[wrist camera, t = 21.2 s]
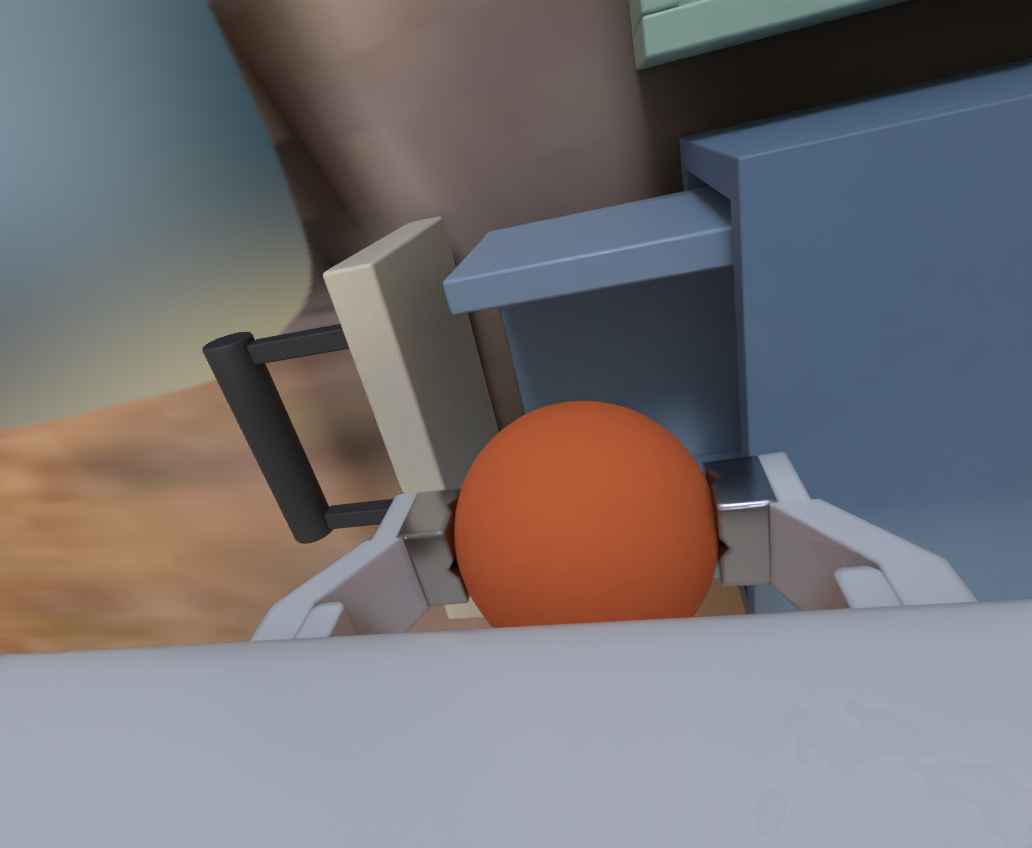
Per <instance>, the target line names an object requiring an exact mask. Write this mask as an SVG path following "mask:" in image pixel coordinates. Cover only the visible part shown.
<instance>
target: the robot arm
mask: <svg viewBox="0 0 1032 848" xmlns="http://www.w3.org/2000/svg"><path fill="white" fill-rule="evenodd" d="M702 472H703V474H704V476H705V478H706V480H707V483H708V485H709V487H710V490H711V498H712V503H713V509H714V515H715V521H716V529H717V533H718V536H719V548H718V558H717V567H718V570H719V574H720V578H721V581H722V585H723V586H745V585H771V587H773V588H774V589H775V590H776V591H777V592H778V593H780V594H781V595H782V596H783V597H784V598H785V599H787V600H788V601H789V602H790V603H791V604H792V605H794V606H795V607H796V608H797V609H798V610H799V611H793V612H775V613H757V614H739V615H720V616H702V617H684V618H666V619H647V620H629V621H611V622H592V623H574V624H556V625H537V626H519V627H500V628H482V629H464V630H445V631H427V632H408V631H409V630H410V629H411V628H412V627H413V626H414V625H415V623H416V622H417V621H418V620H419V619H420V618H421V617H422V616H423V615H424V614H425V613H426V612H427V610H428V609H429V606H440V605H450V604H461V603H468V601H469V597H470V595H469V592H468V590H467V588H466V585H465V583H464V580H463V578H462V575H461V573H460V569H459V565H458V561H457V556H456V550H455V539H454V527H455V512H456V508H457V504H458V499H459V495H460V491H461V488H459V489H447V490H436V491H425V492H413V493H405V494H399V495H397V496H395V498H394V500H393V502H392V504H391V505H390V507H389V509H388V511H387V513H386V515H385V516H384V518H383V520H382V522H381V524H380V526H379V528H378V529H377V531H376V533H375V535H374V537H373V539H372V540H368V541H364V542H363V543H361V544H360V545H358V546H357V547H356V548H354V549H353V550H351V551H350V552H348V553H347V554H345V555H344V556H343V557H341V558H340V559H338V560H337V561H335V562H334V563H332V564H331V565H330V566H328V567H327V568H325V569H324V570H322V571H321V572H319V573H318V574H317V575H315V576H314V577H312V578H311V579H309V580H308V581H306V582H305V583H304V584H302V585H301V586H299V587H298V588H296V589H295V590H294V591H292V592H291V593H289V594H288V595H286V596H285V597H283V598H282V599H281V600H279V601H278V602H276V603H275V604H273V605H272V607H271V608H270V610H269V611H268V613H267V614H266V616H265V617H264V619H263V620H262V622H261V623H260V625H259V626H258V628H257V629H256V631H255V632H254V634H253V635H252V637H251V638H250V640H249V641H243V642H225V643H206V644H188V645H170V646H151V647H133V648H115V649H97V650H78V651H60V652H42V653H17V654H0V848H1032V599H1016V600H997V601H979V602H978V600H977V599H976V598H975V596H974V595H973V594H972V593H971V591H970V590H969V589H968V587H967V586H966V585H965V583H964V582H963V581H962V580H961V578H960V577H959V576H958V574H957V573H956V572H955V570H954V569H953V568H952V567H951V565H950V564H949V563H948V561H947V560H946V559H945V558H943V557H941V556H939V555H936V554H934V553H932V552H930V551H928V550H926V549H924V548H922V547H920V546H918V545H916V544H913V543H911V542H909V541H907V540H905V539H903V538H901V537H899V536H897V535H895V534H893V533H890V532H888V531H886V530H884V529H882V528H880V527H878V526H876V525H874V524H872V523H870V522H868V521H865V520H863V519H861V518H859V517H857V516H855V515H853V514H851V513H849V512H847V511H845V510H842V509H840V508H838V507H836V506H834V505H832V504H830V503H828V502H826V501H824V500H822V499H811V498H810V496H809V494H808V492H807V490H806V489H805V487H804V485H803V483H802V481H801V480H800V478H799V476H798V474H797V472H796V470H795V469H794V467H793V465H792V463H791V461H790V460H789V458H788V456H787V454H786V453H784V452H775V453H768V454H761V455H755V456H748V457H741V458H733V459H726V460H718V461H711V462H703V463H702ZM407 632H408V633H407Z"/></svg>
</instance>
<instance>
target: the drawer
mask: <svg viewBox="0 0 1032 848" xmlns="http://www.w3.org/2000/svg"><path fill="white" fill-rule="evenodd" d="M323 278H324V280H325V283H326V286H327V289H328V291H329V294H330V297H331V299H332V302H333V305H334V308H335V310H336V313H337V316H338V318H339V321H340V324H338V325H332V326H327V327H321V328H316V329H310V330H305V331H299V332H294V333H288V334H283V335H277V336H272V337H267V338H261V339H257V340H255V339H254V337H253V335H252V334H251V333H250V332H239V333H234V334H231V335H227V336H224V337H221V338H218V339H216V340H214V341H212V342H210V343H208V344H206V345H205V346H204V347H203V353H204V355H205V357H206V359H207V361H208V363H209V365H210V367H211V369H212V371H213V373H214V375H215V377H216V379H217V381H218V383H219V385H220V387H221V389H222V391H223V393H224V395H225V398H226V400H227V402H228V404H229V406H230V408H231V410H232V412H233V414H234V416H235V418H236V420H237V422H238V424H239V426H240V428H241V430H242V432H243V434H244V436H245V438H246V440H247V442H248V444H249V446H250V448H251V450H252V452H253V454H254V456H255V458H256V460H257V462H258V465H259V467H260V469H261V471H262V473H263V475H264V477H265V479H266V481H267V483H268V485H269V487H270V489H271V491H272V493H273V495H274V497H275V499H276V501H277V503H278V505H279V507H280V509H281V511H282V513H283V515H284V517H285V519H286V521H287V523H288V525H289V527H290V529H291V531H292V534H293V536H294V538H295V540H296V541H298V542H299V543H304V544H306V543H312V542H315V541H318V540H320V539H322V538H324V537H325V536H327V535H328V534H329V533H330V532H331V531H332V530H333V529H337V528H347V527H357V526H367V525H377V524H381V522H382V520H383V518H384V516H385V515H386V513H387V511H388V509H389V507H390V505H391V504H392V502H393V500H394V499H388V500H379V501H370V502H361V503H351V504H342V505H333V506H330V507H329V506H328V503H327V501H326V499H325V497H324V494H323V492H322V490H321V488H320V485H319V483H318V481H317V479H316V476H315V474H314V472H313V470H312V467H311V465H310V463H309V461H308V458H307V456H306V454H305V452H304V449H303V447H302V445H301V443H300V440H299V438H298V436H297V434H296V431H295V429H294V427H293V425H292V422H291V420H290V418H289V416H288V413H287V411H286V409H285V407H284V404H283V402H282V400H281V398H280V395H279V393H278V391H277V389H276V386H275V384H274V382H273V380H272V377H271V375H270V373H269V371H268V368H267V366H266V364H265V363H268V362H274V361H280V360H286V359H292V358H297V357H303V356H309V355H315V354H321V353H326V352H332V351H338V350H344V349H350V351H351V354H352V356H353V359H354V362H355V365H356V367H357V370H358V373H359V375H360V378H361V381H362V384H363V386H364V389H365V392H366V394H367V397H368V400H369V403H370V405H371V408H372V411H373V413H374V416H375V419H376V422H377V424H378V427H379V430H380V432H381V435H382V438H383V441H384V443H385V446H386V449H387V451H388V454H389V457H390V460H391V462H392V465H393V468H394V470H395V473H396V476H397V479H398V481H399V484H400V487H401V489H402V492H403V494H405V493H413V492H425V491H436V490H447V489H459V488H462V485H463V483H464V481H465V478H466V476H467V474H468V472H469V470H470V468H471V466H472V464H473V463H474V461H475V459H476V458H477V456H478V455H479V454H480V452H481V451H482V450H483V449H484V448H485V446H486V445H487V444H488V443H489V442H490V441H491V439H492V438H493V437H494V436H495V435H497V434H498V433H499V431H498V427H497V423H496V419H495V415H494V412H493V408H492V404H491V400H490V396H489V392H488V389H487V385H486V381H485V377H484V373H483V370H482V366H481V362H480V358H479V354H478V350H477V347H476V343H475V339H474V335H473V331H472V327H471V324H470V320H469V316H468V313H471V312H477V311H483V310H488V309H494V308H500V311H501V315H502V319H503V323H504V328H505V332H506V336H507V340H508V345H509V349H510V353H511V358H512V362H513V366H514V370H515V375H516V379H517V383H518V387H519V392H520V396H521V400H522V404H523V409H524V413H525V415H526V414H528V413H530V412H532V411H534V410H536V409H539V408H542V407H545V406H548V405H553V404H558V403H563V402H572V401H598V402H604V403H611V404H615V405H619V406H622V407H626V408H629V409H631V410H634V411H636V412H639V413H641V414H643V415H645V416H647V417H648V418H650V419H652V420H654V421H655V422H657V423H658V424H659V425H661V426H662V427H663V428H665V429H666V430H667V431H669V432H670V433H671V434H673V435H674V436H675V437H676V438H677V439H678V440H679V441H680V442H681V443H682V444H683V445H684V446H685V448H686V449H687V450H688V452H689V453H690V454H691V456H692V457H693V458H694V460H695V461H696V462H697V464H698V465H699V467H700V469H701V470H702V463H703V462H711V461H718V460H726V459H733V458H741V457H742V449H741V426H740V404H739V381H738V358H737V335H736V312H735V289H734V266H733V243H732V220H731V200H730V199H728V198H727V197H726V196H724V195H723V194H721V193H720V192H718V191H717V190H715V189H714V188H713V187H711V186H706V187H701V188H697V189H692V190H687V191H682V192H677V193H673V194H668V195H663V196H658V197H653V198H649V199H644V200H639V201H634V202H629V203H624V204H620V205H615V206H610V207H605V208H600V209H596V210H591V211H586V212H581V213H576V214H572V215H567V216H562V217H557V218H552V219H548V220H543V221H538V222H533V223H528V224H523V225H519V226H514V227H509V228H504V229H499V230H495V231H490V232H488V233H487V234H486V235H485V236H484V238H483V239H482V240H481V241H480V242H479V243H478V244H477V246H476V247H475V248H474V249H473V250H472V251H471V252H470V253H469V254H468V255H467V256H466V258H465V259H464V260H463V261H462V262H461V263H460V264H459V265H458V266H457V267H456V266H455V263H454V259H453V255H452V251H451V247H450V243H449V240H448V236H447V232H446V228H445V224H444V220H443V218H442V217H441V216H438V217H433V218H428V219H424V220H419V221H415V222H410V223H407V224H406V225H404V226H402V227H401V228H399V229H397V230H395V231H394V232H392V233H390V234H389V235H387V236H385V237H384V238H382V239H380V240H378V241H377V242H375V243H373V244H372V245H370V246H368V247H366V248H365V249H363V250H361V251H360V252H358V253H356V254H354V255H353V256H351V257H349V258H348V259H346V260H344V261H342V262H341V263H339V264H337V265H336V266H334V267H332V268H331V269H329V270H327V271H326V272H324V273H323ZM713 579H721V578H720V574H719V570H718V567H717V564H716V568H715V572H714V576H713ZM444 606H445V609H446V612H447V614H448V617H449V618H450V619H464V618H482V617H484V616H483V615H482V614H481V612H480V611H479V609H478V608H477V606H476V605H475V603H474V601H473V600H472V598H471V596H470V597H469V601H468V603H461V604H450V605H444Z"/></svg>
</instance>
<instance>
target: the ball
mask: <svg viewBox="0 0 1032 848" xmlns="http://www.w3.org/2000/svg"><path fill="white" fill-rule="evenodd" d="M454 539H455V550H456V556H457V561H458V565H459V569H460V573H461V575H462V578H463V580H464V583H465V585H466V588H467V590H468V592H469V595H470V596H471V598H472V600H473V601H474V603H475V605H476V606H477V608H478V609H479V611H480V612H481V614H482V615H483V616H484V617H485V619H486V620H487V621H488V622H489V623H490V624H491V625H492V626H493V627H494V628H500V627H519V626H537V625H556V624H574V623H592V622H611V621H629V620H647V619H666V618H684V617H693V616H694V615H695V613H696V612H697V611H698V609H699V607H700V605H701V604H702V602H703V600H704V598H705V596H706V594H707V592H708V590H709V587H710V585H711V582H712V580H713V576H714V572H715V568H716V564H717V558H718V548H719V536H718V533H717V529H716V521H715V515H714V509H713V503H712V498H711V490H710V487H709V485H708V483H707V480H706V478H705V476H704V474H703V472H702V470H701V469H700V467H699V465H698V464H697V462H696V461H695V460H694V458H693V457H692V456H691V454H690V453H689V452H688V450H687V449H686V448H685V446H684V445H683V444H682V443H681V442H680V441H679V440H678V439H677V438H676V437H675V436H674V435H673V434H671V433H670V432H669V431H667V430H666V429H665V428H663V427H662V426H661V425H659V424H658V423H657V422H655V421H654V420H652V419H650V418H648V417H647V416H645V415H643V414H641V413H639V412H636V411H634V410H631V409H629V408H626V407H622V406H619V405H615V404H611V403H604V402H598V401H572V402H563V403H558V404H553V405H548V406H545V407H542V408H539V409H536V410H534V411H532V412H530V413H528V414H526V415H523V416H521V417H520V418H518V419H517V420H515V421H514V422H512V423H511V424H509V425H508V426H506V427H505V428H503V429H502V430H501V431H500V432H499V433H498V434H497V435H495V436H494V437H493V438H492V439H491V441H490V442H489V443H488V444H487V445H486V446H485V448H484V449H483V450H482V451H481V452H480V454H479V455H478V456H477V458H476V459H475V461H474V463H473V464H472V466H471V468H470V470H469V472H468V474H467V476H466V478H465V481H464V483H463V485H462V488H461V491H460V495H459V499H458V504H457V508H456V512H455V527H454Z"/></svg>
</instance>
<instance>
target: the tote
mask: <svg viewBox="0 0 1032 848" xmlns="http://www.w3.org/2000/svg"><path fill="white" fill-rule="evenodd" d="M907 1H911V0H629V8H630V18H631V28H632V37H633V47H634V56H635V66H636V70H641V69H645V68H649V67H653V66H657V65H660V64H664V63H668V62H672V61H676V60H680V59H684V58H688V57H692V56H696V55H699V54H703V53H707V52H711V51H715V50H719V49H723V48H727V47H731V46H735V45H739V44H742V43H746V42H750V41H754V40H758V39H762V38H766V37H770V36H774V35H778V34H782V33H785V32H789V31H793V30H797V29H801V28H805V27H809V26H813V25H817V24H821V23H825V22H828V21H832V20H836V19H840V18H844V17H848V16H852V15H856V14H860V13H864V12H868V11H871V10H875V9H879V8H883V7H887V6H891V5H895V4H899V3H903V2H907Z"/></svg>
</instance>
